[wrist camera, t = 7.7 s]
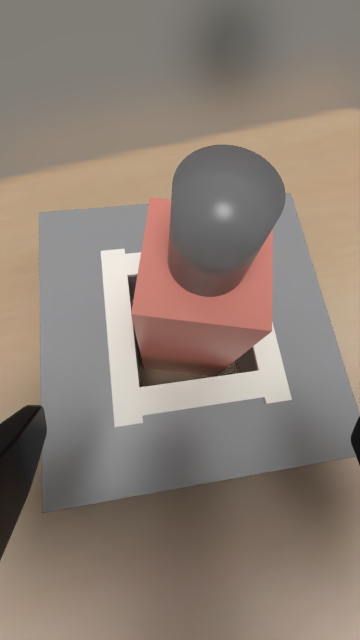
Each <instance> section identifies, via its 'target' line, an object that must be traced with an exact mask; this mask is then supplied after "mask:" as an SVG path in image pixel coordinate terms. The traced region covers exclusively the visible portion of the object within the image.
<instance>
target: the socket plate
mask: <svg viewBox="0 0 360 640" xmlns="http://www.w3.org/2000/svg"><path fill="white" fill-rule="evenodd" d="M285 196H286V198H285V205H284V209H283V212H282V214H281V216H280V217H279V219H278V221H277V222H276V224H275V226H274V227H273V282H272V332H270V333H269V334H268V335H267V336H265V337H264V338H263V339H262V340H260V341H259V342H258V343H257V344H255V345H254V346H253V347H252V348H250V349H249V350H248V351H247V352H245V353H244V354H243V355H242V356H240V357H239V358H238V359H237V362H238V367H239V372H240V373H237V374H230V375H223V376H216V377H209V378H202V379H195V380H188V381H181V382H174V383H167V384H159V385H152V386H145V387H142V384H141V375H140V366H139V356H138V347H137V338H136V333H135V329H134V324H133V320H132V316H131V312H132V306H133V301H132V299H134V293H135V287H136V281H137V275H138V269H139V262H140V256H141V250H142V244H143V238H144V232H145V225H146V219H147V213H148V207H149V204H143V205H130V206H117V207H104V208H91V209H77V210H64V211H51V212H39V279H40V365H41V406H43V408H44V412H45V418H46V425H47V435H46V439H45V442H44V445H43V448H42V513H46V512H51V511H57V510H62V509H68V508H73V507H79V506H85V505H90V504H96V503H101V502H107V501H112V500H118V499H123V498H129V497H134V496H140V495H145V494H151V493H156V492H162V491H167V490H173V489H179V488H184V487H190V486H195V485H201V484H206V483H212V482H217V481H223V480H228V479H234V478H239V477H245V476H250V475H256V474H261V473H267V472H272V471H278V470H284V469H289V468H295V467H300V466H306V465H311V464H317V463H322V462H328V461H333V460H339V459H344V458H350V457H355V456H356V454H355V452H354V449H353V447H352V444H351V434H352V432H353V429H354V427H355V424H356V422H357V419H358V417H360V415H359V412H358V408H357V405H356V402H355V399H354V396H353V392H352V389H351V386H350V383H349V379H348V376H347V373H346V370H345V367H344V363H343V360H342V357H341V354H340V350H339V347H338V344H337V341H336V337H335V334H334V331H333V328H332V325H331V321H330V318H329V315H328V312H327V308H326V305H325V302H324V299H323V296H322V292H321V289H320V286H319V283H318V279H317V276H316V273H315V270H314V267H313V263H312V260H311V257H310V254H309V250H308V247H307V244H306V241H305V237H304V234H303V231H302V228H301V225H300V221H299V218H298V215H297V212H296V208H295V205H294V202H293V199H292V196H291V193H287V194H285Z"/></svg>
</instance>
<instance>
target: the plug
mask: <svg viewBox="0 0 360 640" xmlns="http://www.w3.org/2000/svg"><path fill="white" fill-rule="evenodd" d="M285 198H286V196H285V188H284V184H283V182H282V179H281V177H280V176H279V174H278V172H277V171H276V170H275V168H274V167H273V166H272V165H271V164H270V163H269V162H268V161H267V160H265V159H264V158H263V157H261V156H260V155H258V154H256V153H255V152H253V151H250V150H248V149H245V148H242V147H238V146H233V145H213V146H208V147H204V148H201V149H199V150H197V151H195V152H193V153H191V154H190V155H188V156H187V157H186V158H185V159H184V160H183V161H182V162H181V163H180V164H179V166H178V168H177V169H176V172H175V174H174V177H173V183H172V199H171V200H168V199H160V198H153V197H150V201H149V207H148V213H147V219H146V225H145V232H144V238H143V244H142V250H141V256H140V262H139V269H138V275H137V281H136V287H135V293H134V299H133V306H132V312H131V316H132V320H133V324H134V329H135V333H136V337H137V341H138V345H139V350H140V354H141V358H142V362H143V366H144V368H147V369H156V370H164V371H173V372H182V373H191V374H200V375H208V376H216V375H218V374H219V373H220V372H221V371H223V370H224V369H225V368H226V367H228V366H229V365H230V364H231V363H233V362H234V361H235V360H236V359H238V358H239V357H240V356H242V355H243V354H244V353H245V352H247V351H248V350H249V349H250V348H252V347H253V346H254V345H255V344H257V343H258V342H259V341H260V340H262V339H263V338H264V337H265V336H267V335H268V334H269V333H270V332H272V282H273V227H274V226H275V224H276V222H277V221H278V219H279V217H280V216H281V214H282V212H283V209H284V205H285Z"/></svg>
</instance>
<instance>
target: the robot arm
mask: <svg viewBox="0 0 360 640" xmlns="http://www.w3.org/2000/svg"><path fill="white" fill-rule="evenodd" d="M46 435H47V425H46V418H45V412H44V408H43V406H41V405H27V406H25V407H23V408H22V409H21V410H19V411H18V412H16V413H15V414H13V415H12V416H11V417H9V418H8V419H6V420H5V421H3V422H2V423H1V424H0V560H1V558H2V555H3V553H4V551H5V548H6V546H7V543H8V541H9V539H10V536H11V534H12V532H13V529H14V527H15V525H16V522H17V520H18V517H19V515H20V513H21V510H22V508H23V506H24V503H25V501H26V498H27V496H28V493H29V491H30V488H31V485H32V481H33V478H34V475H35V472H36V468H37V465H38V462H39V458H40V455H41V452H42V448H43V445H44V442H45V439H46ZM351 444H352V447H353V449H354V452H355V454H356V457H357V459H358V462H359V464H360V417H358V419H357V422H356V424H355V427H354V429H353V432H352V434H351Z"/></svg>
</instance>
